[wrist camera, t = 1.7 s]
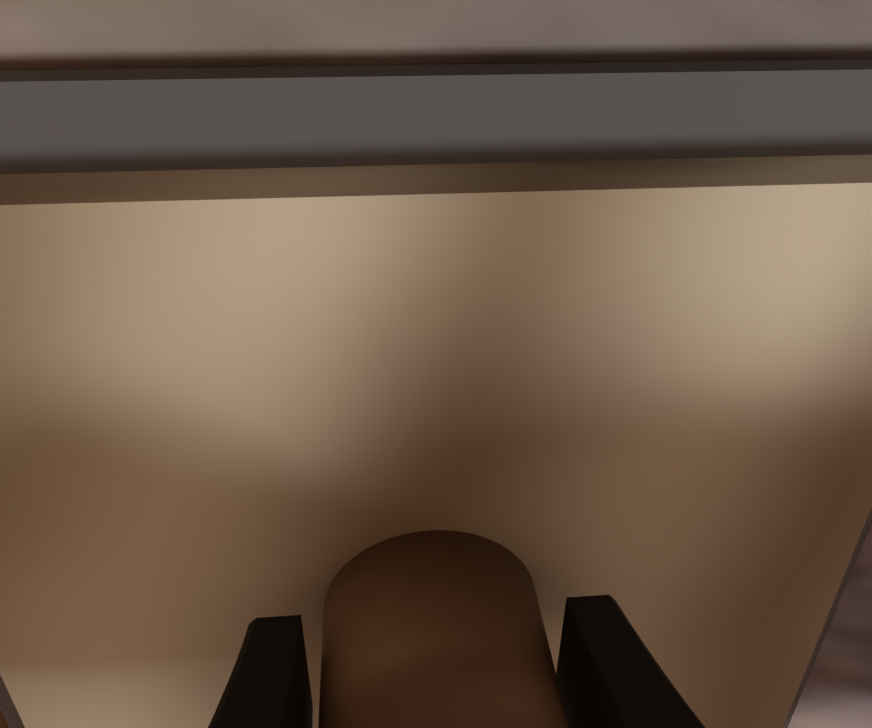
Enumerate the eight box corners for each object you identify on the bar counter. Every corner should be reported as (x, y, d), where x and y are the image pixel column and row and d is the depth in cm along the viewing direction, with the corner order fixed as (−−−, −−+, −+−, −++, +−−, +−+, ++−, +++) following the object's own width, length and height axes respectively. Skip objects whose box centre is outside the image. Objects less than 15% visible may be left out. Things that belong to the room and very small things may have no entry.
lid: (946, 152, 10) (1404, 369, 5) (730, 758, 17) (858, 1059, 12) (-159, 178, 9) (-647, 465, 4) (102, 810, 16) (8, 1157, 11)
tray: (1021, 56, 10) (1058, 66, 9) (753, 754, 18) (765, 780, 17) (-261, 73, 9) (-300, 86, 8) (72, 810, 17) (63, 840, 16)
